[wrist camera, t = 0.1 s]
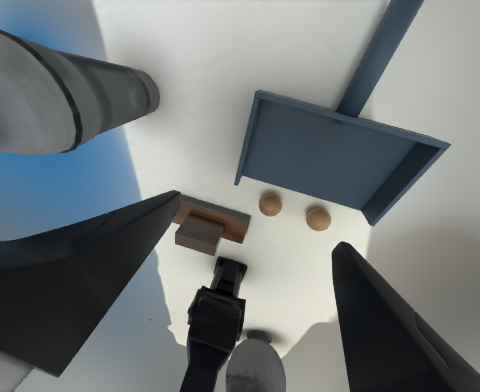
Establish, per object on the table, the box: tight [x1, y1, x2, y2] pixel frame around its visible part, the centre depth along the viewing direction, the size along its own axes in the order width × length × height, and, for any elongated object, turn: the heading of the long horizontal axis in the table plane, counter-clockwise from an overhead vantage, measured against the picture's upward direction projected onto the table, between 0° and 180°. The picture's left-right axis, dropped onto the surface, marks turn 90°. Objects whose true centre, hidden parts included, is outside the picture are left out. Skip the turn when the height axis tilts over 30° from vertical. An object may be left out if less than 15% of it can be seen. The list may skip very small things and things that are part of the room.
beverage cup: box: [0, 30, 159, 155], centre depth 13 cm, size 7×7×20 cm
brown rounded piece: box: [259, 194, 282, 216], centre depth 25 cm, size 3×3×3 cm
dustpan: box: [234, 0, 451, 226], centre depth 17 cm, size 20×18×3 cm
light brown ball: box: [306, 208, 331, 231], centre depth 24 cm, size 3×3×3 cm
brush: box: [172, 195, 251, 256], centre depth 27 cm, size 4×13×7 cm, turn 77°
